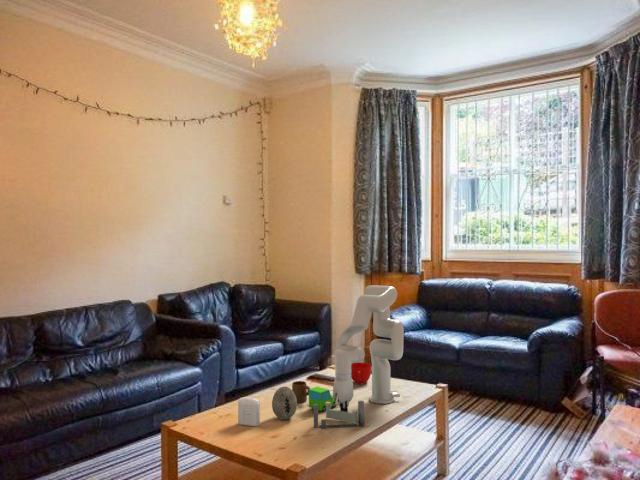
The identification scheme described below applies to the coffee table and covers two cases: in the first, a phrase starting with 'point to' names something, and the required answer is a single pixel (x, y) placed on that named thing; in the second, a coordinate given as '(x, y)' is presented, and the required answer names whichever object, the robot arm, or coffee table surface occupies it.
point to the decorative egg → (284, 403)
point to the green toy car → (320, 398)
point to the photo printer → (249, 411)
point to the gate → (340, 414)
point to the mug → (300, 391)
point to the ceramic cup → (360, 372)
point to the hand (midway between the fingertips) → (344, 415)
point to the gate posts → (324, 424)
